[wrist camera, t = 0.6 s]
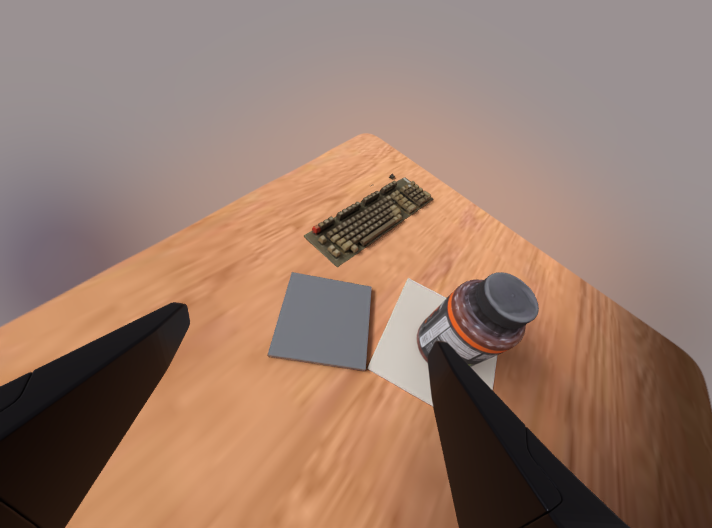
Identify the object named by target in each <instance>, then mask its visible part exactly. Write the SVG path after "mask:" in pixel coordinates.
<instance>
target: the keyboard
mask: <svg viewBox="0 0 712 528" xmlns="http://www.w3.org/2000/svg"><path fill="white" fill-rule="evenodd" d="M394 177H395V176H394V175H393V174H391V175H390V177H389V178H391V179H394ZM371 186H372V185H371ZM432 200H433V198H432V197H431V194H429V193H428V192H426V191H423V189H422V188H419V186H418V185H417V184H416V185H415V182H414V181H409V180H408V179H407V178H402V179H401V180H399V181H397V182H396V181H393V182H392V183H389V184H388V185H386V186H385V187H383V188H382V189H381V190H380V192H378V191H375V192H374V193H372V194H371V195H368V196H367V197H365V198H363V200H362V201H361V203H359V202H356V203H355V204H352V205H351V206H349V207H347V208H346V209H344V210H342V212H341V211H340V212H338V213H337V215H336V217H335V218H333V217H332V216H331V217H329V218H328V219H326V220H324V221H323V223H322V222H321V223H319V224H318V225H316V226H314V227H313V228H312V231H311V232H309V233H307V234H306V235H304V237H305V238H306V239H307V240H308V241H309V242H310V243H311V244H312V245H313V246H314V247H315V248H317V249H318V250H319V251H320V252H321V253H322V254H323V255H324V256H325V257H327V258H328V259H329V260H330V261H331V262H332V263H333V264H334V265H335V266H336V267H339V266H340V265H341V264H342V263H344V262H346V261H348V260H349V259H350V258H352V257H353V256H354V255H356V254H357V253H359V252H360V251H361V250H363V249H364V248H366V247H367V246H369V245H370V244H371V243H373V242H374V241H375V240H377V239H378V238H380V237H381V236H382V235H384V234H386V233H387V232H388V231H390V230H391V229H392V228H394V227H395V226H397V225H398V224H399V223H401V222H402V221H403V220H404V219H406V218H408V217H409V216H411V215H412V214H414V213H415V212H417V211H418V210H419V209H421V208H422V207H423V206H425V205H426V204H427V203H429V202H430V201H432Z"/></svg>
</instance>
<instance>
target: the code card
mask: <svg viewBox="0 0 712 528" xmlns="http://www.w3.org/2000/svg"><path fill="white" fill-rule="evenodd" d="M445 299H446V297H444V296H442V295H440V294H438V293H436V292H434V291H432V290H430V289H428V288H426V287H424V286H423V285H421V284H419V283H417V282H415V281H413V280H411V279H409V278H408V279H407V281H406V283H405V286H404V288H403V290H402V292H401V294H400V297H399V299H398V301H397V303H396V306H395V308H394V310H393V312H392V314H391V317H390V319H389V321H388V323H387V326H386V328H385V330H384V332H383V334H382V337H381V339H380V341H379V343H378V345H377V348H376V350H375V352H374V354H373V357H372V359H371V361H370V363H369V365H368V368H367V369H368V370H370V371H372V372H374V373H375V374H377V375H379V376H380V377H382V378H384V379H386V380H387V381H389V382H391V383H393V384H394V385H396V386H398V387H399V388H401V389H403V390H405V391H406V392H408V393H410V394H412V395H413V396H415V397H417V398H418V399H420V400H422V401H424V402H425V403H427V404H429V405H431V406H432V407H433V403H432V397H431V389H430V379H429V370H428V363H427V362H426V361H425V359H424V358H423V357H422V355H421V354H420V351H419V349H418V345H417V333H418V329H419V327H420V325H421V324H422V323H423V321H424V320H425V319H426V318H427V317H428V316H429V315H430V314H431V313H432V312H433V311H434V310H435V309H436V308H438V307H439V306H440V305H441V303H442V302H443V301H444V300H445ZM496 361H497V355H496V356H494V357H492V358H489V359H487V360H485V361H483V362H481V363H478V364H476V365H474V366H472V367H471V368H472V369H473V370H474V371H475V372H476V373H477V374H478V375H479V377H480V378H481V379H482V380H483V381H484V382H485V383H486V384H487V385H488V386H489V387H490V388H491V389H492V390H493V383H494V376H495V368H496Z"/></svg>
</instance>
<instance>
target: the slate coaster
mask: <svg viewBox="0 0 712 528" xmlns="http://www.w3.org/2000/svg"><path fill="white" fill-rule="evenodd" d="M370 300H371V287H370V286H364V285H359V284H353V283H348V282H343V281H337V280H332V279H326V278H321V277H315V276H310V275H304V274H299V273H294V272H292V274H291V277H290V281H289V284H288V287H287V291H286V294H285V298H284V301H283V304H282V308H281V311H280V314H279V318H278V321H277V325H276V328H275V331H274V335H273V338H272V342H271V345H270V348H269V352H268V357H274V358H280V359H287V360H294V361H300V362H307V363H314V364H320V365H327V366H333V367H340V368H347V369H353V370H360V371H365V370H366V357H367V343H368V328H369V314H370Z"/></svg>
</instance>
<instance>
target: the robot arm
mask: <svg viewBox="0 0 712 528" xmlns="http://www.w3.org/2000/svg"><path fill="white" fill-rule="evenodd" d="M189 325H190V318H189V313H188V307H187V305H186V304H183V303H176V302H173V303H170V304H168V305H166V306H164V307H162V308H160V309H158V310H156V311H154V312H152V313H149V314H147V315H145V316H143V317H141V318H139V319H137V320H135V321H133V322H131V323H129V324H127V325H125V326H123V327H121V328H119V329H117V330H115V331H113V332H111V333H109V334H107V335H105V336H103V337H101V338H99V339H97V340H95V341H92V342H90V343H88V344H86V345H84V346H82V347H80V348H78V349H76V350H74V351H72V352H70V353H68V354H66V355H64V356H62V357H60V358H58V359H56V360H54V361H52V362H50V363H48V364H46V365H44V366H42V367H40V368H38V369H35V370H34V371H33V373H32V372H29V373H27V374H25V375H23V376H21V377H19V378H17V379H15V380H13V381H11V382H9V383H7V384H5V385H2V386H0V528H65V527H66V525H67V524H68V522H69V521H70V519H71V518H72V516H73V514H74V513H75V511H76V510H77V508H78V507H79V505H80V504H81V502H82V501H83V499H84V497H85V496H86V494H87V493H88V491H89V490H90V488H91V487H92V485H93V484H94V482H95V480H96V479H97V477H98V476H99V474H100V473H101V471H102V470H103V468H104V467H105V465H106V464H107V462H108V460H109V459H110V457H111V456H112V454H113V453H114V451H115V450H116V448H117V447H118V445H119V443H120V442H121V440H122V439H123V437H124V436H125V434H126V433H127V431H128V430H129V428H130V426H131V425H132V423H133V422H134V420H135V419H136V417H137V416H138V414H139V413H140V411H141V409H142V408H143V406H144V405H145V403H146V402H147V400H148V399H149V397H150V396H151V394H152V392H153V391H154V389H155V388H156V386H157V385H158V383H159V382H160V380H161V379H162V377H163V375H164V374H165V372H166V371H167V369H168V367H169V365H170V363H171V362H172V360H173V358H174V356H175V354H176V352H177V350H178V348H179V346H180V344H181V342H182V340H183V338H184V336H185V334H186V332H187V330H188V328H189ZM427 360H428V370H429V379H430V389H431V397H432V403H433V408H434V413H435V418H436V422H437V427H438V432H439V436H440V441H441V446H442V451H443V455H444V460H445V465H446V469H447V474H448V479H449V483H450V488H451V493H452V497H453V502H454V507H455V511H456V516H457V521H458V525H459V528H630V527H629V526H628V525H626V524H625V523H624V522H623V521H622V520H621V519H620V518H619V517H618V516H617V515H616V514H615V513H613V512H612V511H611V510H610V509H609V508H608V507H607V506H606V505H605V504H604V503H603V502H602V501H601V500H600V499H599V498H598V497H597V496H596V495H595V494H594V493H593V492H591V491H590V490H589V489H588V488H587V487H586V486H585V485H584V484H583V483H582V482H581V481H580V480H579V479H578V478H577V477H576V476H575V475H574V474H573V473H572V472H571V471H570V470H569V469H568V468H566V467H565V466H564V465H563V464H562V463H561V462H560V461H559V460H558V459H557V458H556V457H555V456H554V455H553V454H552V453H551V452H550V451H549V450H548V449H547V448H546V447H545V445H544V444H543V443H542V442H541V441H540V440H539V439H538V438H537V437H536V436H535V435H534V434H533V433H532V432H531V431H530V430H529V429H528V428H527V427H525V424H524V423H523V422H522V421H521V420H520V419H519V418H518V417H517V416H516V415H515V414H514V413H513V412H512V411H511V410H510V409H509V407H508V406H507V405H506V404H505V403H504V402H503V401H502V400H501V399H500V398H499V397H498V396H497V395H496V394H495V393H494V391H493V390H492V389H491V388H490V387H489V386H488V385H487V384H486V383H485V382H484V381H483V380H482V379H481V378H480V377H479V375H478V374H477V373H476V372H475V371H474V370H473V369H472V368H471V367H470V366H469V365H468V364H467V363H466V362H465V361H464V359H463V358H462V357H461V356H460V355H459V354H458V353H457V352H456V351H455V350H454V349H453V348H452V347H451V346H450V345H449V344H448V343H447V342H444V341H435V343H434V344H433V346H432V348H431V350H430V352H429V354H428V358H427Z"/></svg>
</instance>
